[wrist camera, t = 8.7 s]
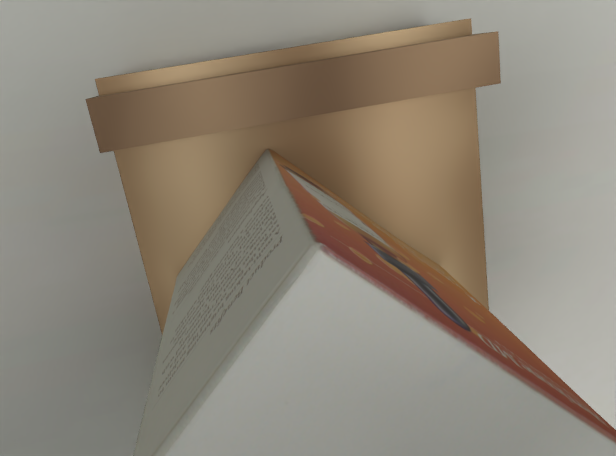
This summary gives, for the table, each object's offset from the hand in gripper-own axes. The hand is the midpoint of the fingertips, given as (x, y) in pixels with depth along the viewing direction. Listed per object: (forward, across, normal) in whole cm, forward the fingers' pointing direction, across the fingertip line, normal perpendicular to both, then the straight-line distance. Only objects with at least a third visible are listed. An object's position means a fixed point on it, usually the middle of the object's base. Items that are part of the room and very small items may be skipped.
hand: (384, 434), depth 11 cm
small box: (+9, 0, 0) cm, 9 cm away
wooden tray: (+13, +1, 0) cm, 13 cm away
